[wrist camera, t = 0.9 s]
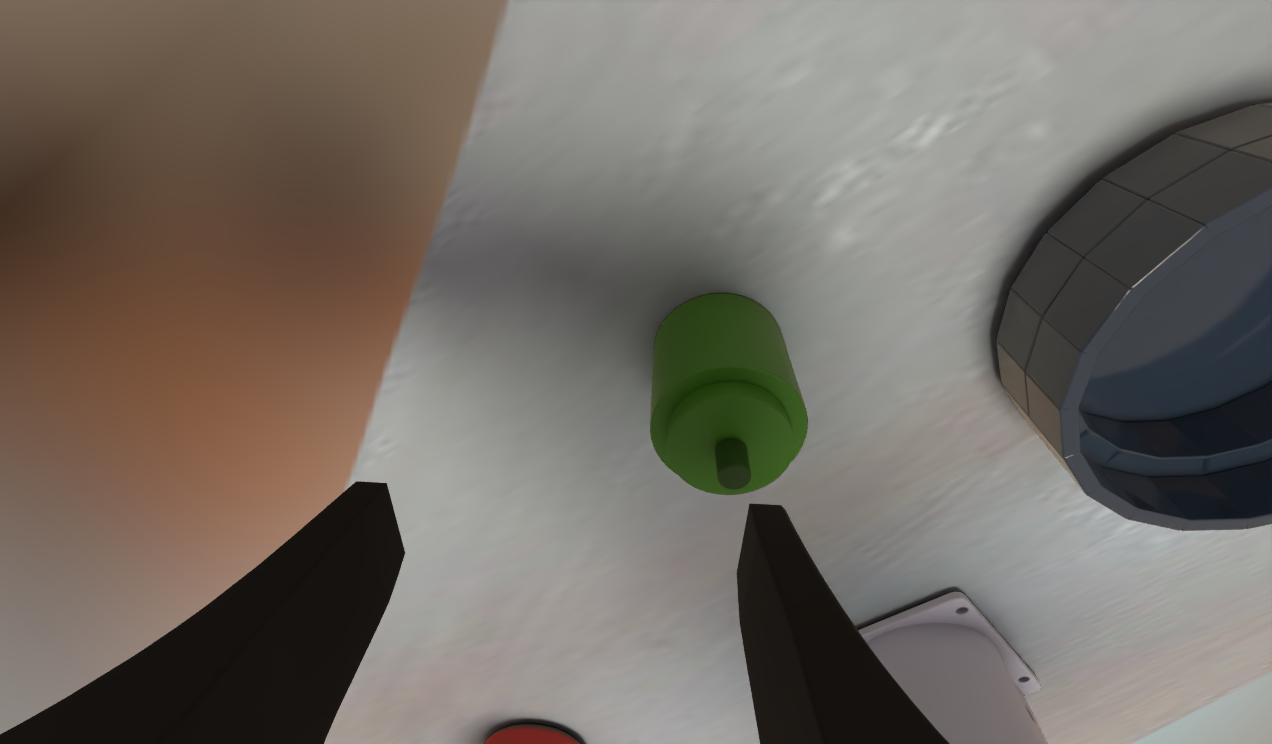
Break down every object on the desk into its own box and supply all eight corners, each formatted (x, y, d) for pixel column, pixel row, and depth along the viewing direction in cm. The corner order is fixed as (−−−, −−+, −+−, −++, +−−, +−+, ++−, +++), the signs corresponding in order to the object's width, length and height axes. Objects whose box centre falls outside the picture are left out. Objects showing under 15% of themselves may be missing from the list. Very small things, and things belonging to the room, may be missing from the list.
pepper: (808, 358, 22) (856, 488, 16) (705, 422, 23) (716, 559, 18) (731, 266, 20) (756, 377, 14) (627, 343, 22) (612, 467, 16)
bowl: (1447, 319, 20) (1633, 399, 16) (1067, 487, 24) (1141, 580, 20) (1383, -12, 15) (1623, -10, 11) (928, 274, 20) (990, 344, 16)
